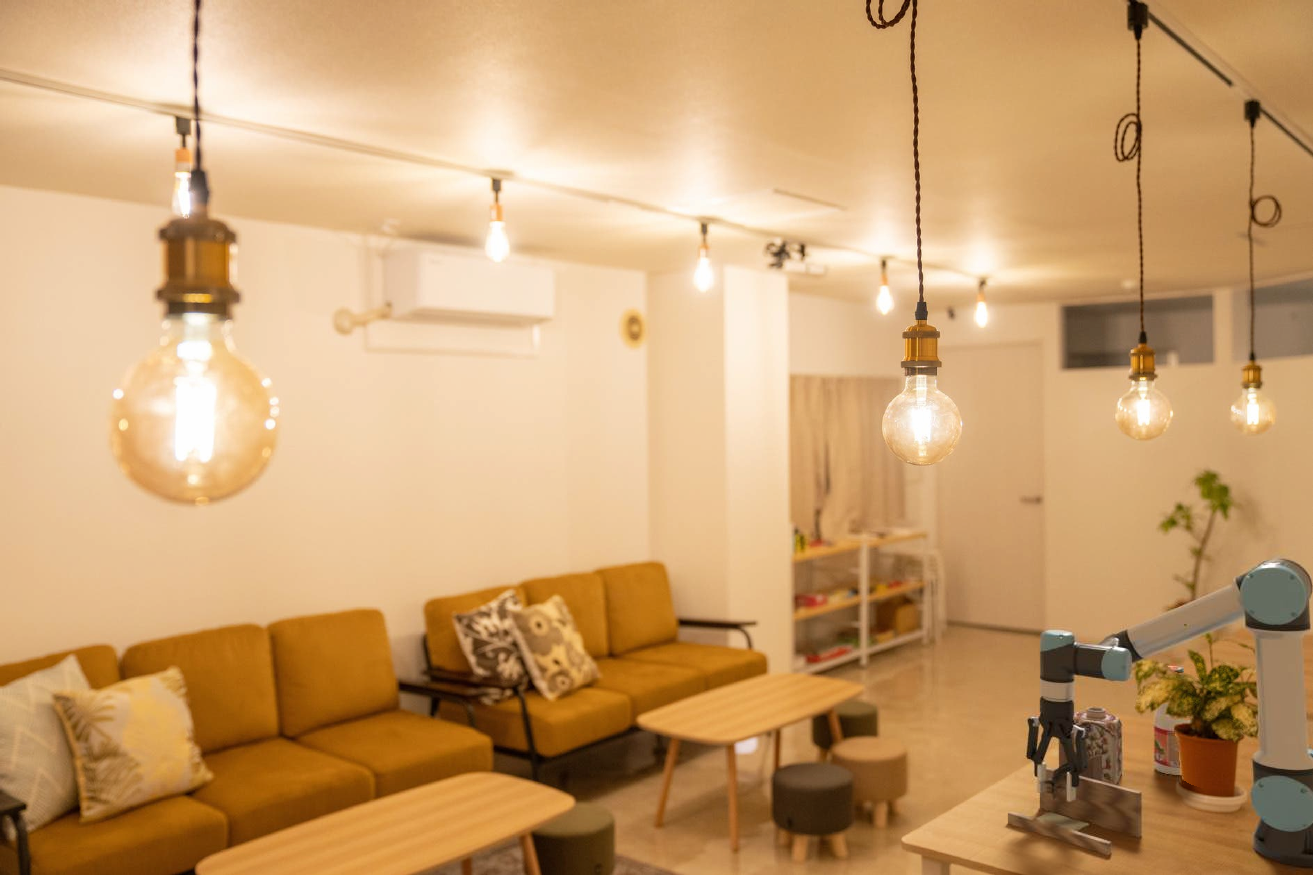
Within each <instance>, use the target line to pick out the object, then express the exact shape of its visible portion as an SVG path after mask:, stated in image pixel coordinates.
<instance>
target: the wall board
mask: <svg viewBox="0 0 1313 875" xmlns="http://www.w3.org/2000/svg"><path fill="white" fill-rule="evenodd" d="M1056 769H1057V768H1053V767H1050V766H1049V767H1048V766H1046V779H1047V780H1048V779H1050V778H1051V777H1053V774H1054V771H1055V770H1056ZM1065 784H1066V785H1067V780H1065ZM1046 787H1051V788H1052V785H1051V784H1046ZM1057 790H1058V791H1059V790H1063V791H1062V792H1061V793H1057V797H1055V799H1053V795H1052V794H1051V793H1047V791H1050V792H1051V790H1050V789H1048V788H1046V791H1044V792H1042V793H1039V809H1041V808H1042V809H1041V810H1045V811H1048V812H1047V813H1044V814H1042V815H1041V816H1040V815H1039V816H1038V817H1036V818H1035V817H1032V816H1028V815H1025V814H1021V813H1019V812H1015V811H1012V810H1010V811H1009V812H1007V824H1009V825H1012V826H1016V827H1018V828H1021V829H1025V830H1028V831H1031V832H1034V833H1037V834H1039V835H1043V836H1047V837H1050V838H1053V839H1056V840H1059V841H1062V842H1066V843H1068V844H1072V845H1075V846H1079V847H1081V848H1083V849H1084V848H1085V849H1086V850H1091V851H1093V852H1097V853H1100V854H1103V855H1105V856H1109V855H1111V854H1112V841H1110V840H1106V839H1103V838H1100V837H1096V836H1093V835H1089V834H1087V833H1083V832H1080V830H1082V829H1083V828H1086V827H1088V826H1090V824H1093V825H1095V824H1096V826H1098V827H1099V826H1100V827H1103V828H1105V829H1109V830H1112V831H1116V832H1119V833H1123V834H1126V835H1129V836H1133V837H1137V838H1140V837H1142V835H1143V832H1142V831H1143V830H1142V829H1143V826H1142V824H1143V823H1142V820H1143V818H1142V809H1143V808H1142V807H1143V806H1142V804H1143V802H1142V796H1143V794H1142V791H1139V790H1136V789H1132V788H1127V787H1123V786H1121V785H1117V784H1116V785H1113V784H1109V783H1106V782H1102V781H1098V780H1094V779H1090V778H1087V777H1083V776H1079V786H1078V787H1076V799H1075V800H1073V801H1071V802H1069V801H1067V790H1066V789H1061V788H1058V789H1057ZM1058 813H1059V814H1058ZM1065 815H1066V816H1065ZM1072 817H1073V818H1072ZM1075 818H1076V819H1075ZM1088 822H1090V823H1088Z"/></svg>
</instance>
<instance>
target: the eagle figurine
mask: <svg viewBox="0 0 1313 875" xmlns="http://www.w3.org/2000/svg"><path fill="white" fill-rule="evenodd" d="M1055 769H1056V770H1055V771H1054V774H1053V777H1051V778H1050V779H1048V780H1047V779H1044V780H1041V781H1039V784H1043V785H1044V784H1051V785H1052V788H1051V787H1046V788H1048V789H1050V790H1051V792H1050V791H1047V793H1051V794H1052V795H1053V799H1055V797H1057V793H1061V792H1062V791H1063V790H1059V791H1058V790H1057V789H1058V788H1061V789H1066V790H1067V785H1066V784H1065V780H1067V773H1068V772H1070V768H1069V765H1068V763H1065V764H1064V765H1062V766H1061V767H1059V766H1058V768H1055Z"/></svg>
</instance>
